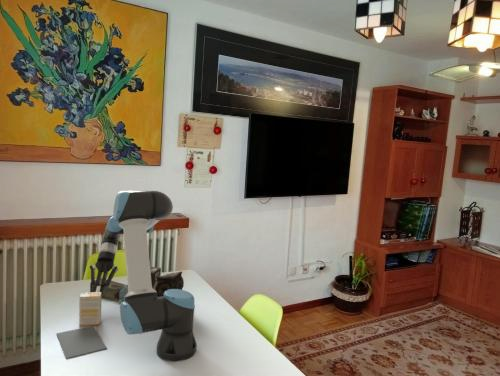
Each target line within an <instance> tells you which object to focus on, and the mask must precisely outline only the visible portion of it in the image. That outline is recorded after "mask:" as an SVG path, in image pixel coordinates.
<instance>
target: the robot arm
mask: <svg viewBox="0 0 500 376" xmlns="http://www.w3.org/2000/svg"><path fill="white" fill-rule="evenodd" d="M173 208H174V206H173V202H172V200H171V198H170V197H169V196H168V195H167V194H166V193H164V192H162V191H160V190H159V191H158V190H130V189H129V190H121V191H119V192H118V193H117V194H116V195H115V199H114V204H113V211H112V212H113V215H112V216H111V217H110V218H109V219H108V221H107V224H106V226H105V229H104V232H103V237H102V241H101V245H100V249H99V253H98V256H97V261H96V262H95V264H93V265H90V266H89V269H90V283H91V285H92V286H93V287H95V288H94V292H101V295H102V294H103V290H104V288H105V287H108V286H109V284H110V282H111V281H113V278H114V277H115V274H116V273H117V271H119V269H118V266H115V263H114V262H115V259H116V258H115V257H116V253H117V248H118V244H119V240H120V237H121V236H122V235H123V241H124V242H123V244H124V254H125V267H126V282H127V285H128V293H127V294H126V295H125V297H124V299H123V300H124V301H122V302H121V303H120V305H119V309H120V310H119V314H120V319H121V323H122V327H123V330H124V331H125V332H126V334H127V335H131V336H132V335H141V334H145V333H151V332H156V331H160V330H161V333H160V336H159V339H158V340H157V343H156V354H157V356H158V357H159V358H161V359H163V360H166V361H168V362H169V361H171V362H180V361H181V362H182V361H185V360H188V359H190V358H192V357H193V356H195V355H196V352H197V346H198V345H197V340H196V338H195V334H194V317H195V307H196V306H195V305H196V304H195V297H194V295H193V294H192V293H191V292H190V291H188V290H187V291H186V290H184V289H182V290H180V289H169V290H167V291H165V292H164V294H163V295H164V296H162V297H157V292H156V291H155V290H154V289H153V288H152V282H151V272H150V267H151V261H150V253H149V245H148V244H149V242H148V234H151V233H153V231H154V228H155V225H157V223H158V222H160V221H164V220H166V219H168V218H169V216H171V214H172V212H173ZM96 269H97V275H96V272H95V271H96ZM109 272H110V273H109ZM108 274H109V275H108ZM101 278H102V282H101V284H100V285H101V286H99V283H100V279H101ZM106 279H107V281H106ZM95 280H96V282H95ZM105 282H106V283H105Z"/></svg>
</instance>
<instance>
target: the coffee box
mask: <svg viewBox="0 0 500 376" xmlns="http://www.w3.org/2000/svg"><path fill="white" fill-rule="evenodd" d="M150 272H151V282H152V288H153V289H154V290H155V291H156V284H157V277H158V276H159V277H160V276H162V274H161V273H162V267H156V266H150Z"/></svg>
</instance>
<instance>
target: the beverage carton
mask: <svg viewBox="0 0 500 376" xmlns="http://www.w3.org/2000/svg"><path fill="white" fill-rule="evenodd" d="M102 278H103V277H101V279H100V283H99V286H101V285H100V284H101V282H102ZM107 279H108V278H106V281H107ZM95 282H96V279H95ZM89 283H90V284H89V292H94V288H95V287H93V286H92V285H91V282H89ZM105 283H106V282H105ZM127 293H128V284H124V283H122V282H118V281H115V280H111V282H110V284H109V286H108V287H105V288H104V290H103V294H102V295H101V298H102V297H103V298H106V299H110V300H114V301H118V302H121V301H122V300H124V297H125V295H126V294H127Z"/></svg>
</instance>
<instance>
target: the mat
mask: <svg viewBox="0 0 500 376" xmlns="http://www.w3.org/2000/svg"><path fill="white" fill-rule="evenodd" d="M56 336H57V338H58V341H59V343H60V345H61V349H62V352H63V351H64V352H63V354H64V356H66V357H65V359H66V360H68V359H73V358H77V357H80V356H83V355H87V354H92V353H95V352H100V351H103V350H107V349H108V347H107V346H106V344H105V343H104V341H103V339H102V337H101V336H100V334H99V332H98V330H97V329H96V328H95V325H89V326H86V327H85V326H83V327H80V328H75V329H71V330H66V331H61V332H56ZM67 358H68V359H67Z"/></svg>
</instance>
